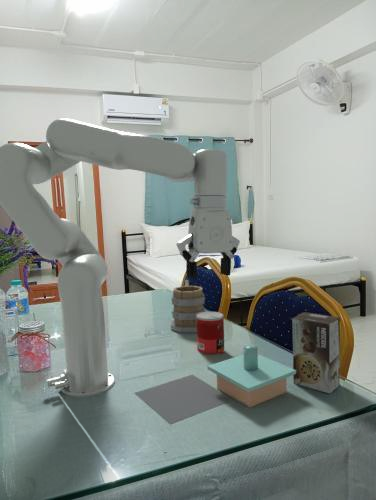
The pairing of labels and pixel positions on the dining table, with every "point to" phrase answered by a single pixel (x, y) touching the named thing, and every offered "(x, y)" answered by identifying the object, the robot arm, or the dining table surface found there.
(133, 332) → the dining table surface
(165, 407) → the mat
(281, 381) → the pink storage bin
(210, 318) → the canned food
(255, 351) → the lid
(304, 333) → the coffee box
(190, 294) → the tankard
